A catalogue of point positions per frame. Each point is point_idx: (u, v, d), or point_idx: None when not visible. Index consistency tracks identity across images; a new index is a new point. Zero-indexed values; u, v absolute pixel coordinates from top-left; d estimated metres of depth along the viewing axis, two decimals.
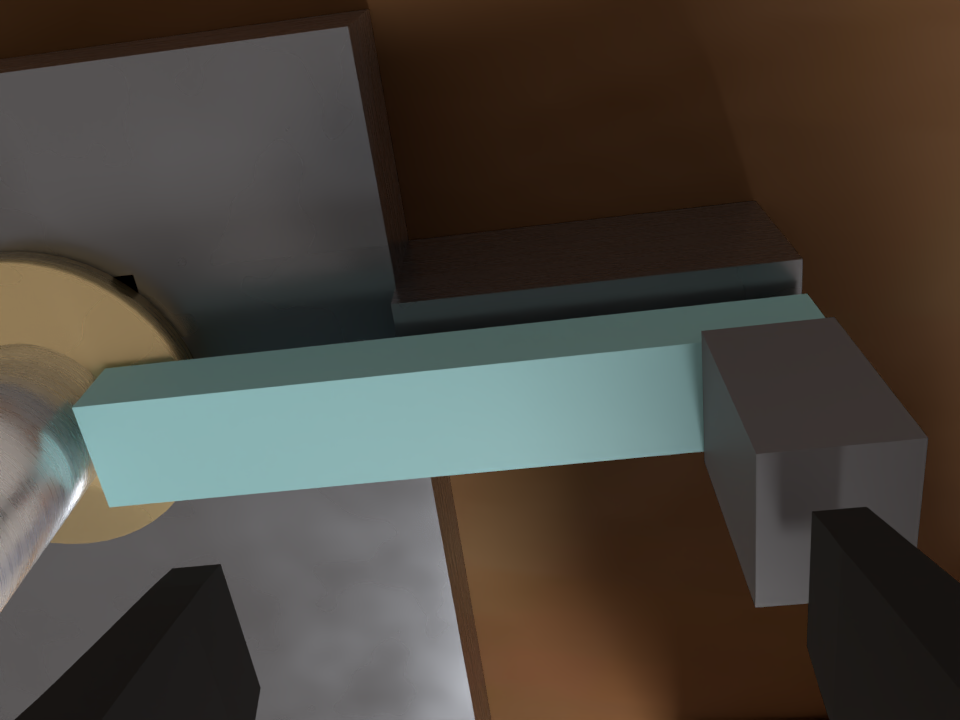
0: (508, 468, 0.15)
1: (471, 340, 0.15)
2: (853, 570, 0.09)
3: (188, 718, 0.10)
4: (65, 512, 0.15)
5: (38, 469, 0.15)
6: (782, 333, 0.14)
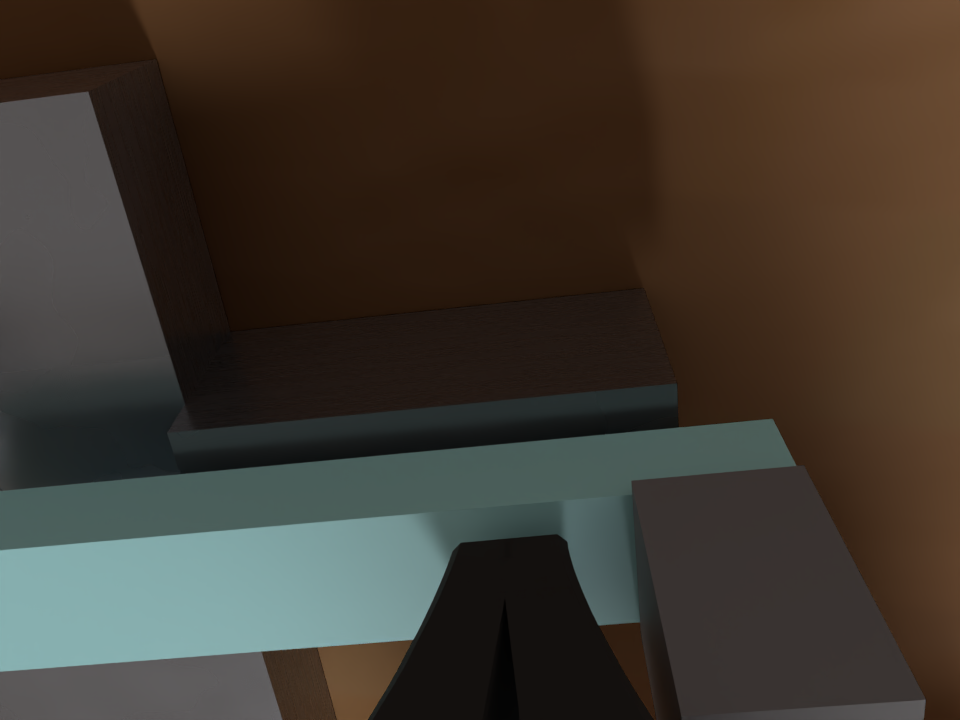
0: (392, 640, 0.12)
1: (346, 476, 0.12)
2: None
3: (513, 694, 0.09)
4: None
5: None
6: (735, 490, 0.10)
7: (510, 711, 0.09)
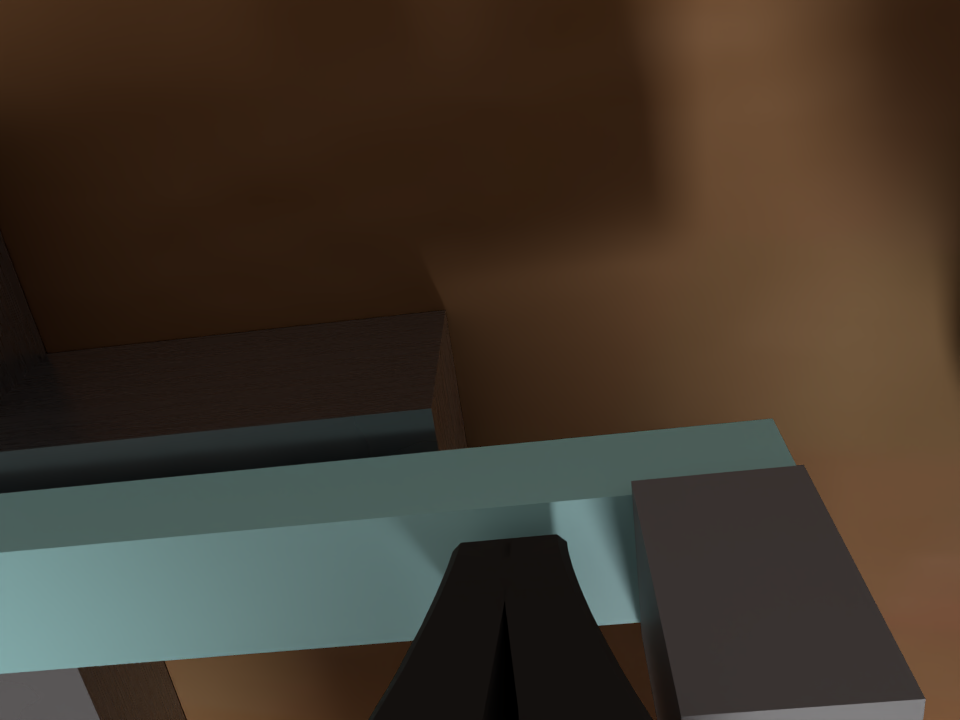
0: (393, 641, 0.12)
1: (346, 477, 0.12)
2: None
3: (513, 694, 0.09)
4: None
5: None
6: (734, 490, 0.10)
7: (510, 711, 0.09)
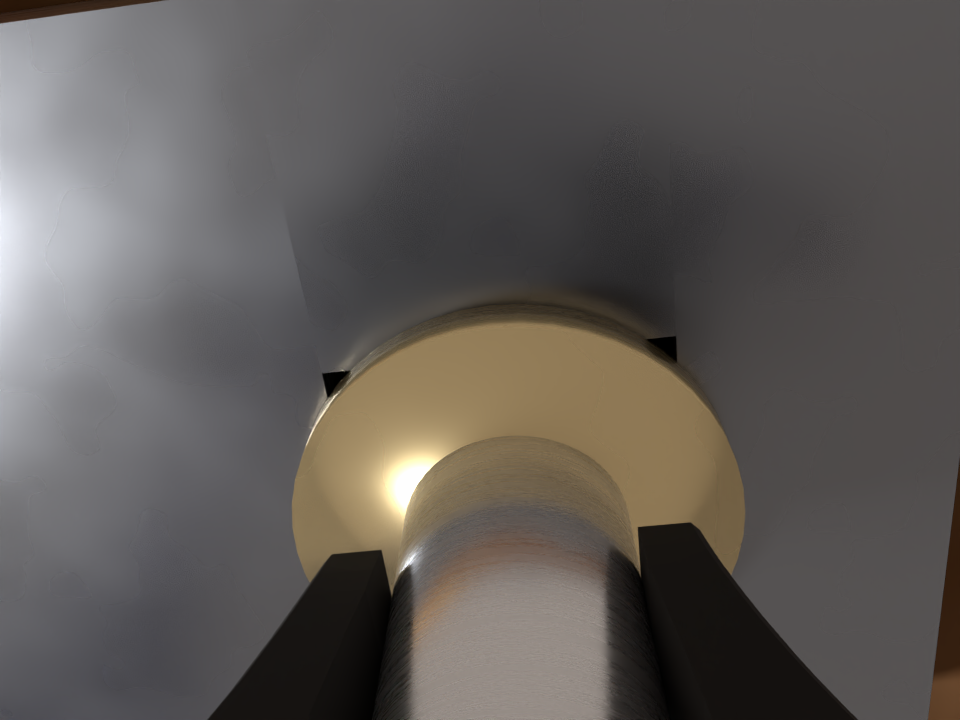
0: None
1: None
2: (655, 587, 0.09)
3: (367, 704, 0.10)
4: None
5: None
6: None
7: None
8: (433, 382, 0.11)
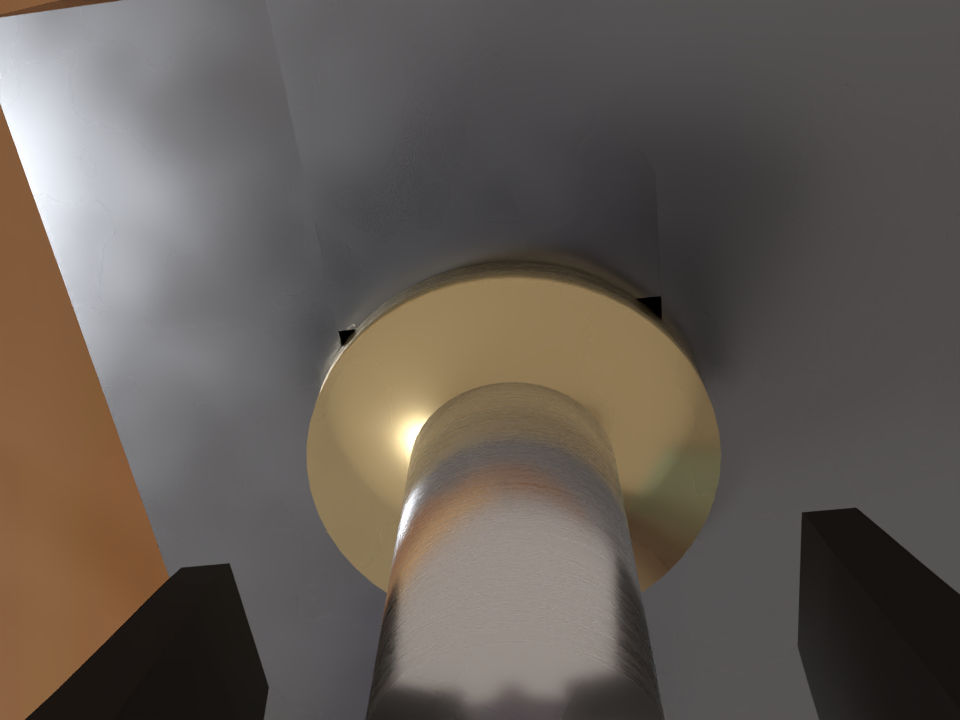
0: None
1: None
2: (842, 571, 0.09)
3: (198, 717, 0.10)
4: None
5: None
6: None
7: None
8: (437, 332, 0.12)
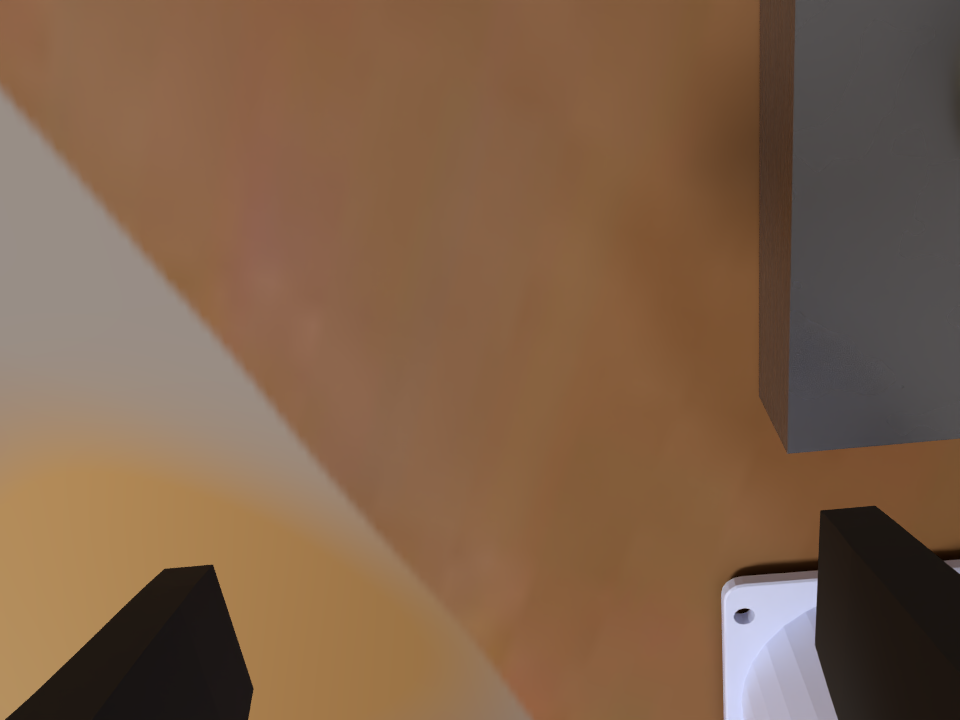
0: None
1: None
2: (863, 569, 0.09)
3: (179, 719, 0.10)
4: None
5: None
6: None
7: None
8: None
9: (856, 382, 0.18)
